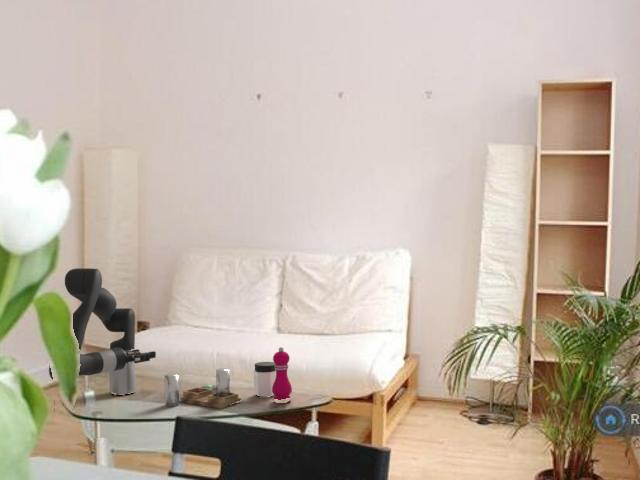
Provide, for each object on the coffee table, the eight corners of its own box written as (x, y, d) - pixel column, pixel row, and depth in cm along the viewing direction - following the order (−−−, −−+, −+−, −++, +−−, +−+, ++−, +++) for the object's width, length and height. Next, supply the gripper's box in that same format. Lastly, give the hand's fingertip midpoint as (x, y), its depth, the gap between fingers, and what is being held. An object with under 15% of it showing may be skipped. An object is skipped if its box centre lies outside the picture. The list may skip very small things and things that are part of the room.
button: (203, 393, 275) (202, 386, 275) (208, 392, 278) (208, 384, 278) (208, 394, 273) (208, 387, 273) (214, 393, 276) (213, 385, 276)
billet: (162, 405, 259) (161, 375, 258) (172, 403, 263) (171, 373, 262) (171, 407, 256) (171, 377, 255) (182, 404, 260) (181, 374, 260)
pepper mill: (289, 404, 257) (288, 348, 257) (270, 403, 258) (268, 348, 258) (294, 399, 264) (293, 345, 264) (275, 399, 265) (274, 345, 265)
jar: (280, 396, 270) (279, 364, 270) (260, 398, 266) (259, 366, 266) (271, 391, 278) (270, 360, 278) (251, 393, 275) (251, 362, 274)
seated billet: (213, 400, 259) (212, 370, 258) (223, 397, 263) (222, 367, 263) (223, 402, 256) (223, 371, 256) (233, 399, 260) (232, 369, 260)
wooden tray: (179, 401, 265) (179, 392, 265) (201, 395, 274) (201, 386, 274) (220, 408, 253) (220, 399, 252) (241, 402, 261) (241, 392, 261)
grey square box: (197, 394, 275) (197, 387, 275) (208, 391, 280) (208, 384, 280) (208, 396, 271) (208, 389, 271) (219, 393, 276) (219, 386, 276)
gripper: (122, 350, 232) (160, 344, 246) (94, 347, 241) (133, 341, 254) (122, 374, 232) (160, 365, 246) (95, 369, 241) (133, 362, 254)
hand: (146, 353), depth 250 cm, fingers open, 8 cm apart
